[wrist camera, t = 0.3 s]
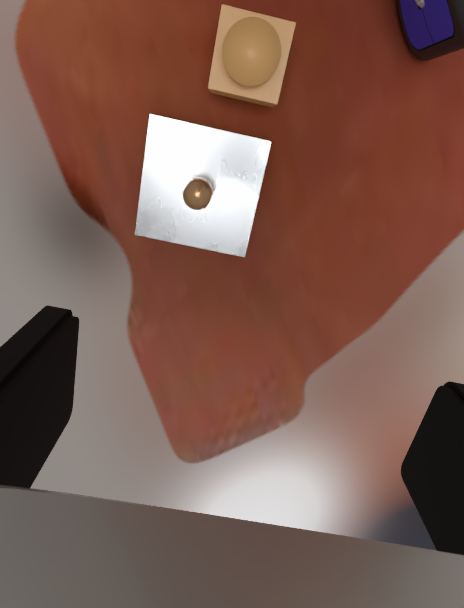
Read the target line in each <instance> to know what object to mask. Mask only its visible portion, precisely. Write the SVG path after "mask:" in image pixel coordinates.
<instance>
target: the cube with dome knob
mask: <svg viewBox="0 0 464 608" xmlns="http://www.w3.org/2000/svg"><path fill="white" fill-rule="evenodd" d="M295 25H296V23H295V22H291V21H287V20H283V19H279V18H275V17H271V16H267V15H263V14H259V13H255V12H251V11H247V10H243V9H239V8H235V7H231V6H227V5H223V4H222V6H221V12H220V18H219V24H218V30H217V36H216V42H215V48H214V54H213V60H212V66H211V72H210V78H209V84H208V89H209V91H210V92H211V93H212V94H216V95H220V96H224V97H229V98H233V99H237V100H242V101H246V102H250V103H254V104H259V105H263V106H267V107H274V106H275V105H277V104H278V99H279V95H280V90H281V86H282V82H283V77H284V73H285V69H286V64H287V60H288V55H289V51H290V47H291V42H292V38H293V33H294V29H295Z"/></svg>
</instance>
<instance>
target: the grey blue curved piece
mask: <svg viewBox="0 0 464 608" xmlns="http://www.w3.org/2000/svg"><path fill="white" fill-rule="evenodd" d="M397 3H398V11H399V16H400V21H401V25H402V29H403V32H404V35H405V38H406V41H407V43H408V45H409V47H410V49H411V50H412V52H413V53H414V54H415V55H416V56H417V57H418V58H419V59H421V60H425V61H427V60H431V59H434V58H437V57H440V56H443V55H445V54H448V53H451V52H454V51H457V50H460V49H463V48H464V0H397Z"/></svg>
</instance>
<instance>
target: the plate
mask: <svg viewBox="0 0 464 608" xmlns="http://www.w3.org/2000/svg"><path fill="white" fill-rule="evenodd" d="M270 146H271V141H268V140H264V139H259V138H255V137H250V136H246V135H242V134H237V133H233V132H228V131H224V130H220V129H215V128H211V127H206V126H202V125H198V124H193V123H189V122H185V121H180V120H176V119H171V118H167V117H163V116H158V115H154V114H150V115H149V123H148V131H147V139H146V148H145V156H144V164H143V172H142V181H141V189H140V197H139V205H138V213H137V222H136V230H135V235H139V236H144V237H149V238H153V239H158V240H163V241H168V242H173V243H178V244H182V245H187V246H192V247H197V248H202V249H207V250H212V251H216V252H221V253H226V254H231V255H236V256H241V257H245V254H246V250H247V246H248V241H249V237H250V233H251V228H252V224H253V220H254V215H255V211H256V207H257V202H258V198H259V194H260V189H261V185H262V181H263V176H264V172H265V168H266V163H267V159H268V155H269V150H270Z"/></svg>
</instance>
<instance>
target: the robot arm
mask: <svg viewBox="0 0 464 608" xmlns="http://www.w3.org/2000/svg"><path fill="white" fill-rule="evenodd" d="M78 331H79V318H78V317H73V316H72V311H71V310H68V309H63V308H57V307H52V306H45V307H44V308H43V309H42V310H41V311H40V312H38V314H36V315H35V316H34V317H33V318H32V319H31V320H30V321H29V322H28V323H27V324H25V325H24V326H23V327H22V328H21V329H20V330H19V331H18V332H17V333H15V334H14V335H13V336H12V337H11V338H10V339H9V340H8V341H7V342H6V343H5V344H3V345H2V346H1V347H0V608H464V384H460V383H454V382H447V383H446V384H445V385H444V386H440V387H439V388H437V390H436V392H435V394H434V396H433V398H432V400H431V403H430V405H429V407H428V409H427V411H426V414H425V416H424V418H423V420H422V422H421V424H420V426H419V429H418V431H417V433H416V435H415V437H414V439H413V441H412V444H411V446H410V448H409V450H408V452H407V455H406V457H405V459H404V461H403V463H402V466H401V475H402V478H403V481H404V483H405V485H406V487H407V489H408V491H409V494H410V496H411V498H412V500H413V502H414V504H415V506H416V508H417V510H418V512H419V514H420V516H421V518H422V520H423V523H424V525H425V527H426V529H427V531H428V533H429V535H430V537H431V539H432V541H433V543H434V545H435V547H436V550H437V551H436V550H430V549H423V548H416V547H410V546H404V545H398V544H392V543H385V542H379V541H373V540H366V539H360V538H354V537H348V536H342V535H335V534H329V533H322V532H316V531H310V530H303V529H297V528H290V527H284V526H277V525H272V524H265V523H258V522H253V521H247V520H240V519H234V518H228V517H221V516H215V515H209V514H202V513H196V512H189V511H183V510H176V509H170V508H163V507H156V506H150V505H143V504H136V503H130V502H123V501H117V500H111V499H104V498H98V497H91V496H85V495H78V494H72V493H64V492H56V491H48V490H38V489H31V488H30V487H31V485H32V483H33V482H34V480H35V478H36V477H37V475H38V473H39V471H40V470H41V468H42V466H43V464H44V463H45V461H46V459H47V458H48V456H49V454H50V452H51V451H52V449H53V447H54V445H55V444H56V442H57V440H58V439H59V437H60V435H61V433H62V432H63V430H64V428H65V427H66V425H67V423H68V421H69V419H70V416H71V412H72V408H73V396H74V383H75V370H76V357H77V343H78Z"/></svg>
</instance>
